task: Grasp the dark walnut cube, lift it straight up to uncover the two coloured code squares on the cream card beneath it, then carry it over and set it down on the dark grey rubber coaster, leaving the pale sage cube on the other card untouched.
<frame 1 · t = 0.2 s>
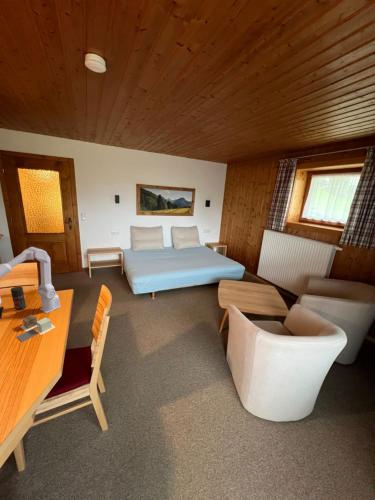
card B: (44, 328, 116), on the table
card A: (30, 325, 118), on the table
sage block: (44, 328, 116), resting on card B
walnut block: (30, 325, 118), resting on card A
coaster: (26, 335, 110), on the table
deodorant: (20, 308, 134), on the table
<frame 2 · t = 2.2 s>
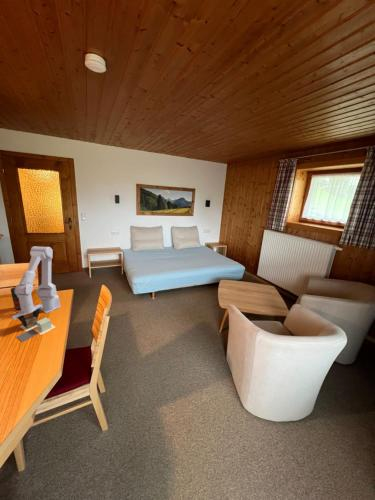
hand: (30, 323, 118), 1 cm above the table, fingers closed on walnut block, 5 cm apart
walnut block: (30, 325, 118), resting on card A, touching gripper
everything else where it was.
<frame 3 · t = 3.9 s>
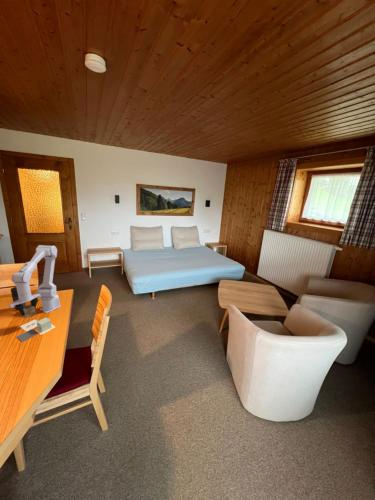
hand: (28, 312, 116), 9 cm above the table, fingers closed on walnut block, 5 cm apart
walnut block: (28, 314, 116), point 7 cm above the table, touching gripper
everything else where it was.
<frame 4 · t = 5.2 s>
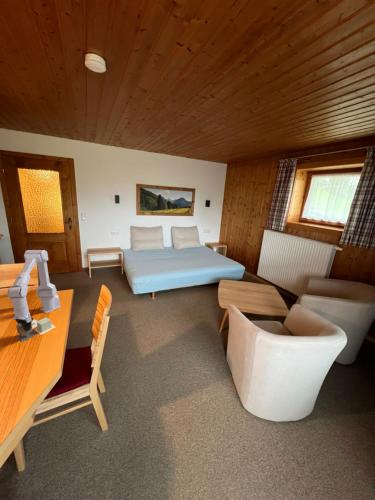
hand: (25, 328, 108), 5 cm above the table, fingers closed on walnut block, 5 cm apart
walnut block: (25, 331, 109), point 3 cm above the table, touching gripper
everything else where it was.
when the fingers open (3 cm above the table, at t = 6.0 s): walnut block stays where it is, resting on coaster.
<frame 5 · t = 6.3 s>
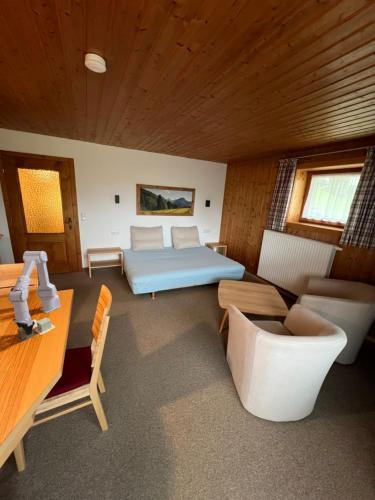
hand: (25, 331, 109), 3 cm above the table, fingers open, 7 cm apart
walnut block: (26, 335, 110), resting on coaster
everything else where it was.
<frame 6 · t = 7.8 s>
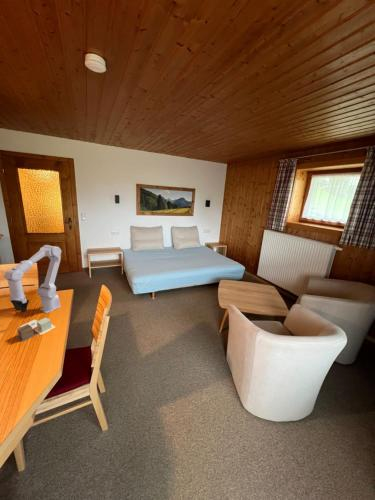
hand: (20, 309, 117), 9 cm above the table, fingers open, 7 cm apart
nothing on the table moved.
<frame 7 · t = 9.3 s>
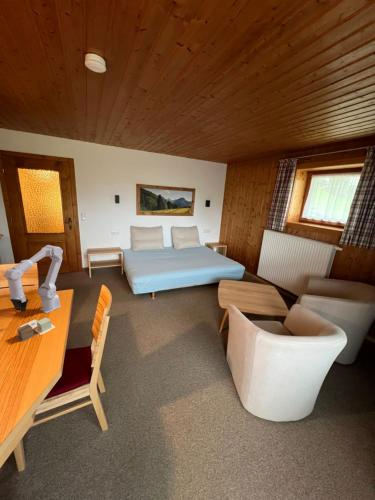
hand: (20, 308, 118), 9 cm above the table, fingers open, 7 cm apart
nothing on the table moved.
at the end: walnut block 0.2 cm off-centre on the coaster, point 0.3 cm above the coaster's base; walnut block tilted 0°; sage block moved 0.0 cm from its start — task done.
